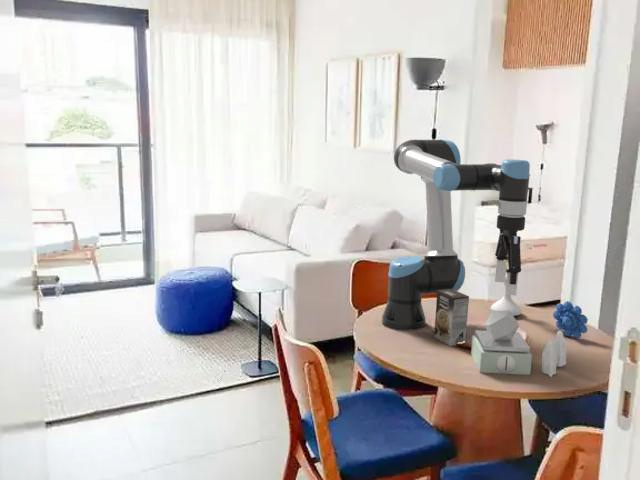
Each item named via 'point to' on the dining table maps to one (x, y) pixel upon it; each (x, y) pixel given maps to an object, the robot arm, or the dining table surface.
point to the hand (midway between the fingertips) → (505, 288)
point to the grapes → (570, 319)
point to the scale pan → (501, 342)
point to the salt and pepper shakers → (554, 355)
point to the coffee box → (451, 316)
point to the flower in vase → (507, 302)
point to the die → (501, 325)
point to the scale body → (500, 360)
